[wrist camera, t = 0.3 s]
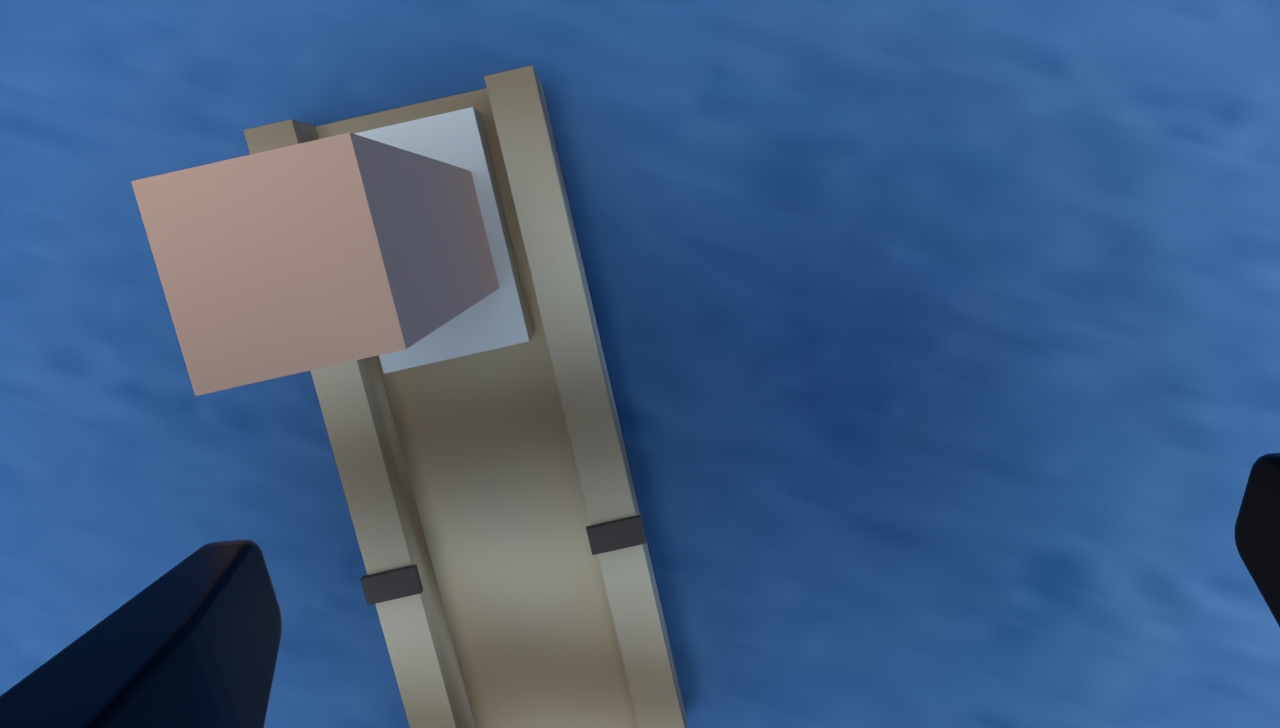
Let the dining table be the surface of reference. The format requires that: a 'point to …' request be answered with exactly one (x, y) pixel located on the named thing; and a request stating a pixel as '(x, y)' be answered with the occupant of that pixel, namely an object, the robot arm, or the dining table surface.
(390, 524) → the fader track
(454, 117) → the fader tab
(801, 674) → the dining table surface
